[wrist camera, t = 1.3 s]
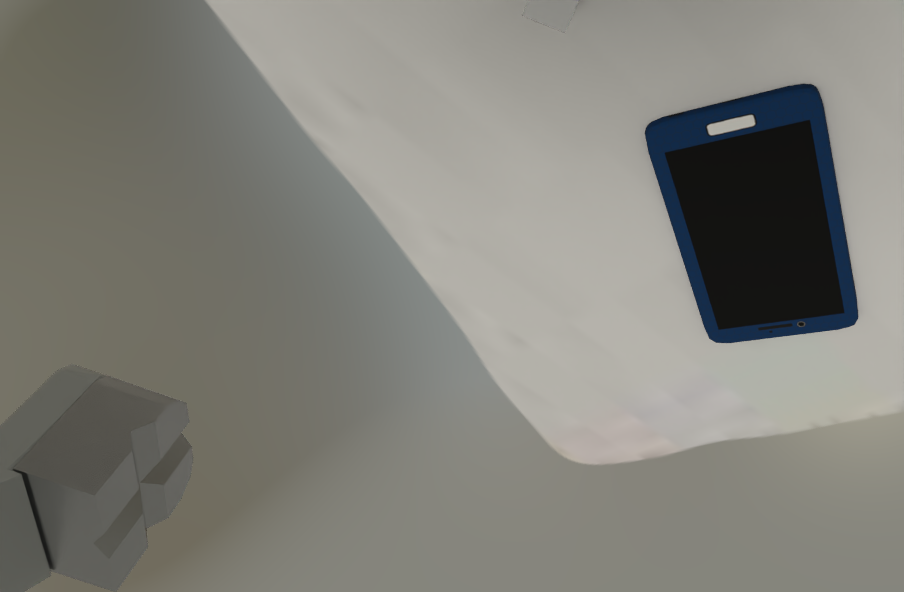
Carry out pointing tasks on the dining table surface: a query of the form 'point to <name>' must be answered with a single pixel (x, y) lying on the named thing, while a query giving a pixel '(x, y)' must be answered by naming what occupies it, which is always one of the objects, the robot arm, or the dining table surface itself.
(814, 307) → the cell phone
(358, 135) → the dining table surface
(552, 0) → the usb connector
